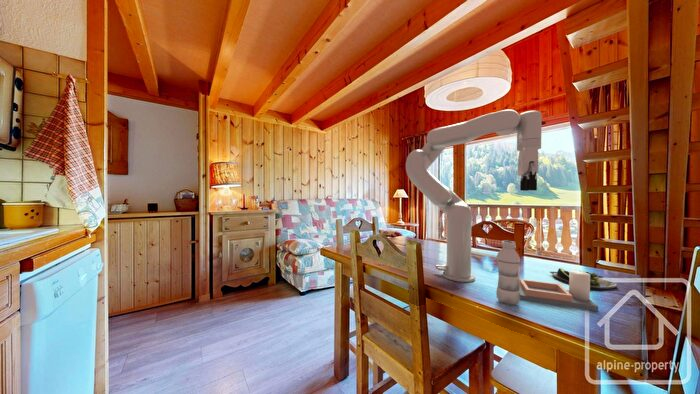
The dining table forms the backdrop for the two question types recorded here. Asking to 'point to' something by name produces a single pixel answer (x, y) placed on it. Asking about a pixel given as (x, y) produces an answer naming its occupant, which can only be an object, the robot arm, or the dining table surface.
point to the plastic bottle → (508, 274)
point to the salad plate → (594, 280)
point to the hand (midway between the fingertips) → (528, 190)
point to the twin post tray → (559, 291)
